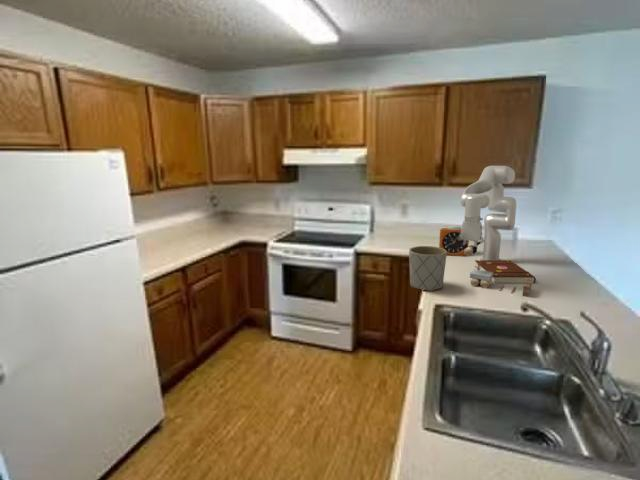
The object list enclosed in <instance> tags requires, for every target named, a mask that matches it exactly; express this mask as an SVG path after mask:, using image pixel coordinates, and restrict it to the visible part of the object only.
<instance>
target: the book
mask: <svg viewBox="0 0 640 480" xmlns="http://www.w3.org/2000/svg"><path fill="white" fill-rule="evenodd" d="M474 262H475V265H474V267H475V268H476V270H481V271H488V272H494V273H493V278H492V282H491V283H492V284H525V282H526V281H527V280H532V284H535V283H536V281H537V279H536V276H534V275H533V274H531V273H530V272H529V271H527V270H525V269H524V268H522V267H521V266H519V265H518V264H517V263H515V262H513V260H509V259H507V260H501V259H499V260H480V259H479V260H478V259H477V260H474Z"/></svg>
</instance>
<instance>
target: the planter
mask: <svg viewBox="0 0 640 480" xmlns="http://www.w3.org/2000/svg"><path fill="white" fill-rule="evenodd" d="M446 255H447V251H446V250H445V249H443V248H439V246H433V245H432V246H431V245H419V246H418V245H417V246H412V247H411V248H409V249H408V257H409V259H408V260H409V284H410V287H411V288H415V289H418V290H422V291H428V292H434V291H436V290H438V289H440V288H442V287H443V286H444V280H445V279H444V278H445V271H446V263H447V256H446Z"/></svg>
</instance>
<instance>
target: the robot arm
mask: <svg viewBox="0 0 640 480" xmlns="http://www.w3.org/2000/svg"><path fill="white" fill-rule="evenodd" d="M515 177H516V173H515V170H514V169H513V168H511V167H510V166H507V165H489V166H486V167H484V168H483V171H482V172H481V175H480V176H479V179H478V180H477V181H475V182H474V183H471V184H469V185H468V186H467V187H466V188H465V189H464V191H463V192H462V194H461V197H460V204H461V206H462V207H464V220H462V221H463V222H462V225H461V228H462V229H461V234H460V235H459V237H458V238H457V239H458V240H459V241H461V243H462V244H463V245H464V246H463V251H464V250H465V249H466V248H467V240H469V241H470V242H471V241H472V242H473V245H474V247H473V253H472V254H474V255H475V254H476V253H477V252H478V246H479V245H481V244H483V252H482V258H480V259H479V260H500V252H501V249H500V248H501V239H502V236H501V233H500V231H499V230H503V231H511V230H513V229H514V228H515V224H516V217H517V215H516V213H517V199H516V198H515V197H512V196H505V195H504V194H505V193H504V191H505V188H504V186H503V184H506V185H509V184H512V183H513V182H514V181H515ZM487 192H488V194H485V193H487ZM485 208H487V209H488V211H491V212H492V213H487V214H486V215H485V216H484V218H483V217H481V209H485ZM493 212H494V213H493ZM495 212H497V213H495ZM482 221H483V224H484V225H483V224H482ZM483 226H484V237H483Z"/></svg>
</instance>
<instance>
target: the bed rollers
mask: <svg viewBox="0 0 640 480" xmlns="http://www.w3.org/2000/svg"><path fill="white" fill-rule="evenodd" d="M491 283H492V279H491V280H490V281H487V280H481V279H474V278H471V280H470V285H471V286H472V287H477V286H478V285H479V284H480V286H481V288H483V289H486V288H488V287H489V286H490V285H491ZM504 287H505V285H504V284H502V285H501V287H500V288H499V289H498V291H499V292H501V291H502V289H503V288H504ZM516 288H517V287H516V286H513V288H512V290H511V291H510V294H513V293H514V292H515V289H516Z"/></svg>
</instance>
